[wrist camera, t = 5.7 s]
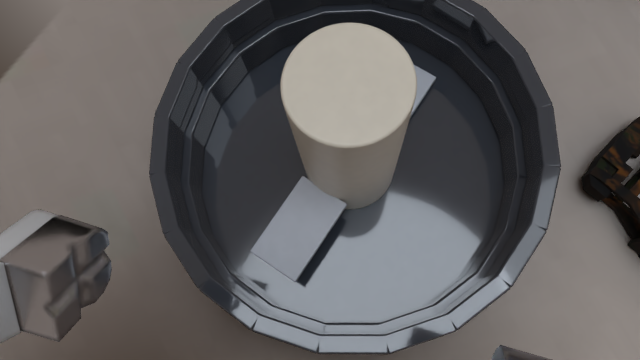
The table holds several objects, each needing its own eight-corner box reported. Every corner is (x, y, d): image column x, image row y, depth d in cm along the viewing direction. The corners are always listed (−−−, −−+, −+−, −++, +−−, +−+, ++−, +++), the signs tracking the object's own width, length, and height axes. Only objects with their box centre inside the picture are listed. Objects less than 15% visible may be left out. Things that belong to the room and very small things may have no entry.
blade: (317, 296, 20) (293, 286, 12) (243, 245, 20) (176, 205, 13) (450, 92, 21) (505, -31, 14) (378, 52, 22) (392, -88, 14)
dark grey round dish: (312, 424, 19) (302, 452, 15) (126, 141, 22) (79, 105, 19) (595, 203, 20) (651, 178, 17) (379, -31, 24) (384, -97, 20)
